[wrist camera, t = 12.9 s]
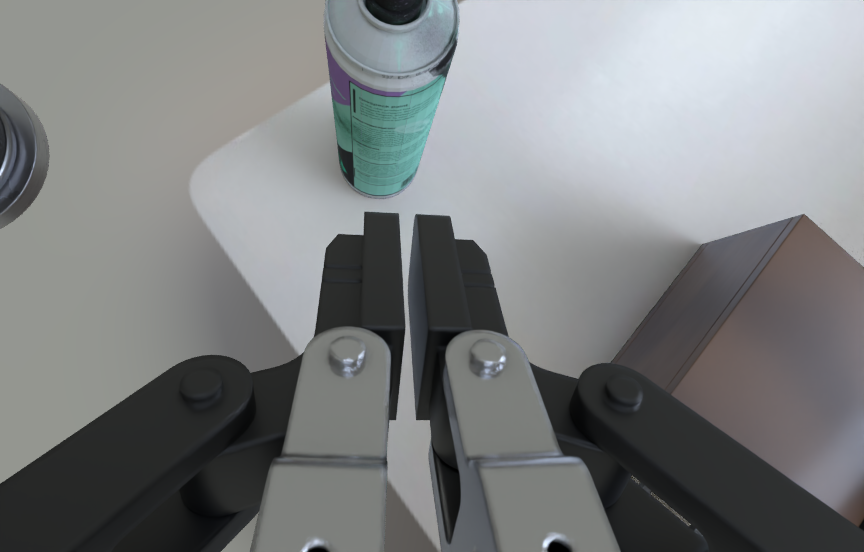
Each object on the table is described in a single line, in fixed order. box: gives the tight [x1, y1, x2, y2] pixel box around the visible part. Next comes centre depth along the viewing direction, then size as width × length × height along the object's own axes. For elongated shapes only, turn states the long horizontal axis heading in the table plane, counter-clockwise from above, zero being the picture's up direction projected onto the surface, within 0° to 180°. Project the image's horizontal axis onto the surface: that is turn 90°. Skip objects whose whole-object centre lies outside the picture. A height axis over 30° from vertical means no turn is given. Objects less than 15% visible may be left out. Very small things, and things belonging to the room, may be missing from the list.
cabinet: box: [611, 214, 864, 527], centre depth 35 cm, size 15×13×10 cm
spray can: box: [324, 0, 460, 199], centre depth 29 cm, size 6×6×20 cm
